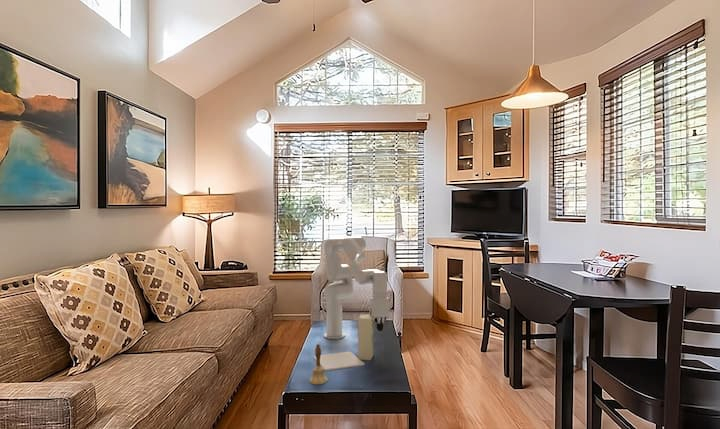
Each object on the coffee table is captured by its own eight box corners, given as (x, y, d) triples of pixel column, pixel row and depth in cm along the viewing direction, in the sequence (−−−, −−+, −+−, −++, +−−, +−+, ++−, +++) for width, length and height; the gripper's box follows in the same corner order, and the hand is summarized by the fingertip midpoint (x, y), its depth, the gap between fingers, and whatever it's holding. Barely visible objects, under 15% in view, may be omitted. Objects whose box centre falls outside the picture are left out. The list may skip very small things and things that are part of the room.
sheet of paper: (313, 357, 220) (313, 356, 220) (349, 352, 227) (349, 351, 227) (324, 371, 201) (324, 369, 201) (364, 365, 208) (364, 363, 208)
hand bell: (306, 383, 187) (306, 346, 186) (313, 376, 195) (313, 341, 195) (324, 385, 184) (324, 348, 184) (330, 378, 192) (330, 342, 192)
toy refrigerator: (372, 360, 215) (372, 318, 215) (357, 359, 216) (357, 318, 216) (374, 355, 223) (374, 315, 223) (360, 354, 224) (360, 314, 224)
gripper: (389, 292, 229) (389, 327, 229) (363, 295, 223) (363, 330, 223) (396, 295, 222) (396, 330, 222) (369, 297, 216) (369, 333, 216)
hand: (380, 330), depth 222 cm, fingers closed
